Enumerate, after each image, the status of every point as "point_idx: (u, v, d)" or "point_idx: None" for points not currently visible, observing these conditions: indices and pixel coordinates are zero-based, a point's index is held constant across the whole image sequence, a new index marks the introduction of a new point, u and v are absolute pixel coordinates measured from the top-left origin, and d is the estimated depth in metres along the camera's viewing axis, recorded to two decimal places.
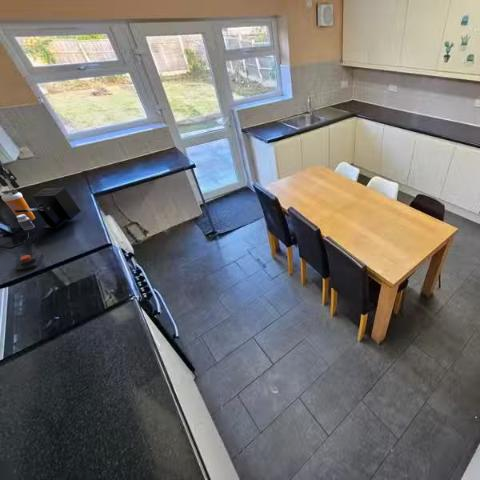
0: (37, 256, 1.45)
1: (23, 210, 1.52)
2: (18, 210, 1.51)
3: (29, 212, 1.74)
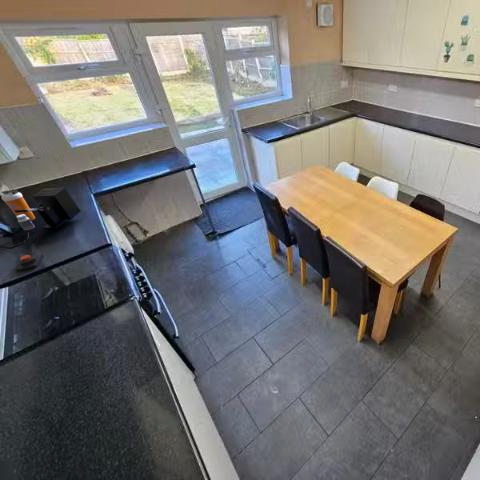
0: (37, 256, 1.45)
1: (23, 210, 1.52)
2: (18, 210, 1.51)
3: (29, 212, 1.74)
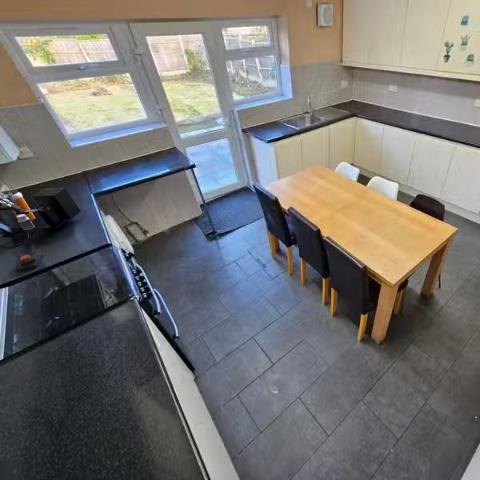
0: (37, 256, 1.45)
1: (24, 212, 1.52)
2: (19, 212, 1.52)
3: (29, 212, 1.74)
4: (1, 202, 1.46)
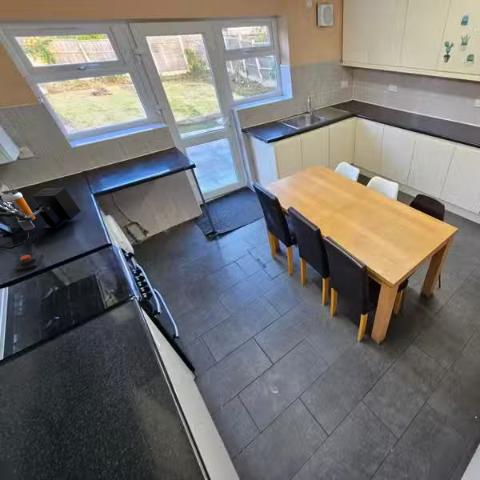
0: (37, 256, 1.45)
1: (27, 219, 1.54)
2: (22, 219, 1.53)
3: (29, 212, 1.74)
4: (5, 209, 1.48)
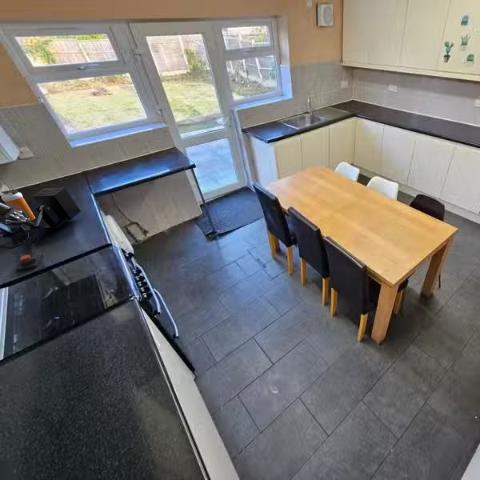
0: (37, 256, 1.45)
1: (38, 228, 1.59)
2: (33, 228, 1.59)
3: (29, 212, 1.74)
4: (16, 217, 1.53)
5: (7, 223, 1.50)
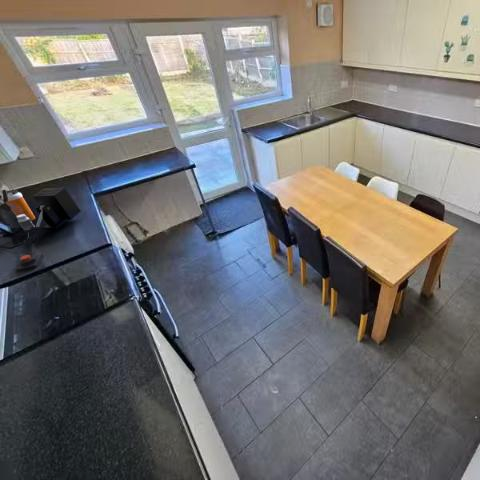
0: (37, 256, 1.45)
1: (39, 228, 1.60)
2: (34, 229, 1.60)
3: (29, 212, 1.74)
4: None
5: None
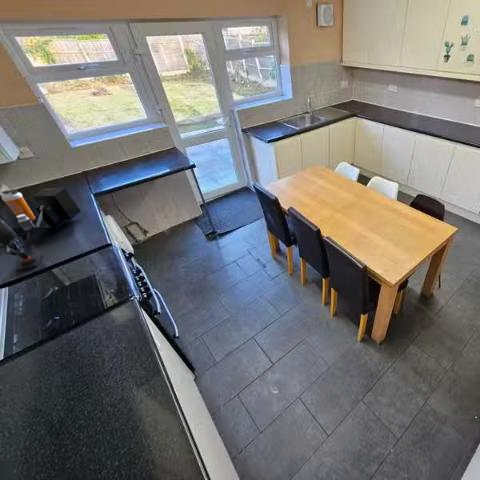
0: (37, 256, 1.45)
1: (39, 228, 1.60)
2: (34, 229, 1.60)
3: (29, 212, 1.74)
4: None
5: None
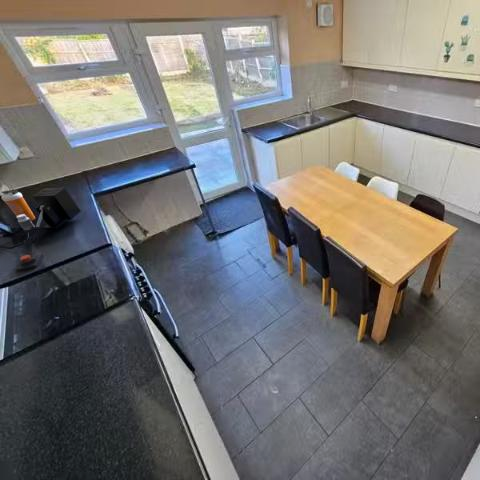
0: (37, 256, 1.45)
1: (39, 228, 1.60)
2: (34, 229, 1.60)
3: (29, 212, 1.74)
4: None
5: None
